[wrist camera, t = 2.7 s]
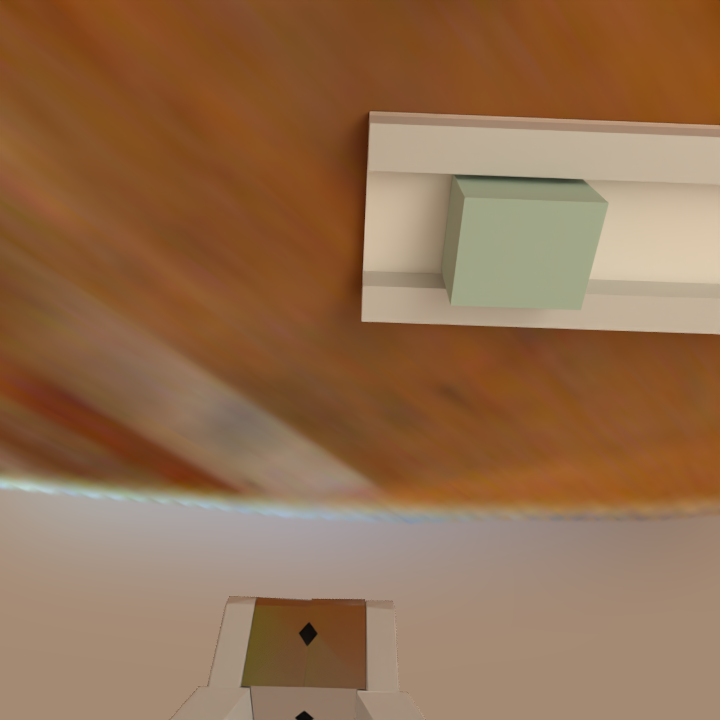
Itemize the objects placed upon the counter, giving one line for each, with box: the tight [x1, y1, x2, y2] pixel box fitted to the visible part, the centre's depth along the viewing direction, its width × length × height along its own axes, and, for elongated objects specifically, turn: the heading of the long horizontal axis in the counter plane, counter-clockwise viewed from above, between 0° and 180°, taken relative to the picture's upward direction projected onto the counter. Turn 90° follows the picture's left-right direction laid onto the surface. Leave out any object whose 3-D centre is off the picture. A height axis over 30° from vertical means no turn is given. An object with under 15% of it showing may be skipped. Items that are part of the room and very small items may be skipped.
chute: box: [361, 111, 720, 334], centre depth 29 cm, size 26×10×3 cm, turn 88°
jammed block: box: [441, 174, 609, 310], centre depth 28 cm, size 6×5×4 cm
